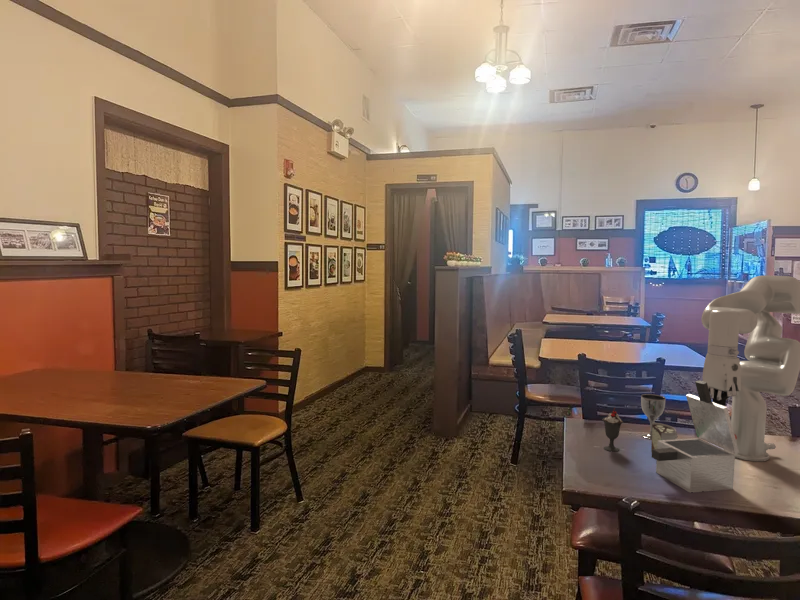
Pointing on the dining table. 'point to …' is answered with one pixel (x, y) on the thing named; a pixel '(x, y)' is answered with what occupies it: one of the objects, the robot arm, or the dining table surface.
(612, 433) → the sundae
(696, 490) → the white hinged box
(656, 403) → the wine glass
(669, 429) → the food container
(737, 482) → the dining table surface
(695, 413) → the lid
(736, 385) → the robot arm
